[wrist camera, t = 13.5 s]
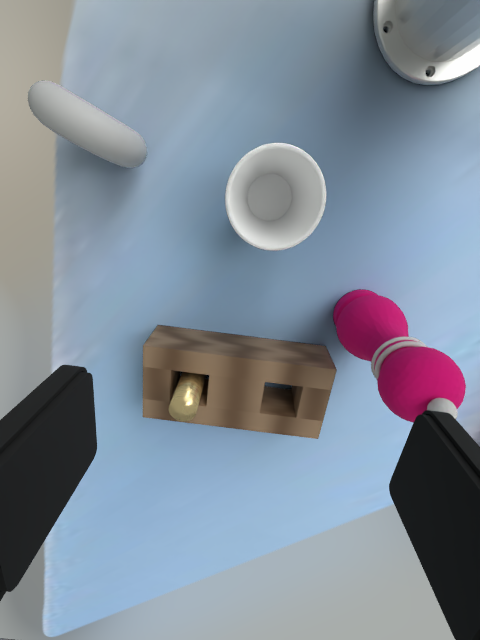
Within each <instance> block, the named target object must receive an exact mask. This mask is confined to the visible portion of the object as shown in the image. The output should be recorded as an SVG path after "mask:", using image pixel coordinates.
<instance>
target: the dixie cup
mask: <svg viewBox="0 0 480 640" xmlns="http://www.w3.org/2000/svg"><path fill="white" fill-rule="evenodd" d="M325 204H326V185H325V181H324V177H323V174H322V172H321V170H320V168H319V166H318V165H317V163H316V162H315V161H314V159H313V158H312V157H311V156H310V155H309V154H307V153H306V152H305V151H303V150H302V149H300V148H298V147H296V146H293V145H290V144H285V143H270V144H265V145H262V146H259V147H257V148H255V149H253V150H252V151H250V152H249V153H247V154H246V155H245V156H244V157H243V158H242V159H241V160H240V161H239V162H238V163H237V164H236V166H235V167H234V169H233V171H232V173H231V175H230V177H229V179H228V183H227V187H226V193H225V206H226V211H227V215H228V218H229V221H230V223H231V225H232V227H233V228H234V230H235V231H236V233H237V234H238V235H239V236H240V237H241V238H242V239H243V240H245V241H246V242H247V243H249V244H250V245H252V246H254V247H257V248H259V249H263V250H270V251H278V250H284V249H288V248H291V247H293V246H295V245H297V244H299V243H301V242H302V241H304V240H305V239H306V238H307V237H308V236H309V235H310V234H311V233H312V232H313V231H314V230H315V228H316V227H317V225H318V224H319V222H320V220H321V218H322V215H323V212H324V209H325Z"/></svg>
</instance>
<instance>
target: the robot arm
mask: <svg viewBox="0 0 480 640" xmlns="http://www.w3.org/2000/svg"><path fill="white" fill-rule="evenodd" d="M373 19H374V30H375V35H376V39H377V43H378V46H379V49H380V51H381V53H382V55H383V57H384V59H385V61H386V62H387V63H388V64H389V66H390V67H391V68H392V69H393V70H394V71H395V72H396V73H397V74H399V75H400V76H401V77H402V78H404V79H407V80H409V81H411V82H413V83H417V84H423V85H439V84H443V83H447V82H451V81H454V80H456V79H458V78H460V77H462V76H464V75H466V74H468V73H469V72H471V71H473V70H474V69H476V68H478V67H479V66H480V0H374V13H373ZM384 28H385V29H386V30H387V33H385V32H384V31H383V29H384ZM426 72H427V73H428V76H426V74H425V73H426ZM96 450H97V438H96V423H95V407H94V392H93V378H92V374H91V373H87V370H86V368H84V367H79V366H71V365H62V366H60V367H59V368H58V369H57V370H56V371H55V372H53V373H52V374H51V375H50V376H49V377H48V378H47V379H46V380H45V381H43V382H42V383H41V384H40V385H39V386H38V387H37V388H36V389H35V390H33V391H32V392H31V393H30V394H29V395H28V396H27V397H26V398H25V399H24V400H22V401H21V402H20V403H19V404H18V405H17V406H16V407H14V408H13V409H12V410H11V411H10V412H9V413H8V414H7V415H6V416H4V417H3V418H2V419H1V420H0V601H1V599H2V598H3V595H4V594H5V593H6V591H8V592H11V591H12V590H13V589H14V588H15V587H16V586H17V585H18V583H19V582H20V580H21V578H22V577H23V575H24V574H25V572H26V570H27V569H28V567H29V565H30V564H31V562H32V560H33V559H34V557H35V555H36V554H37V552H38V550H39V549H40V547H41V545H42V544H43V542H44V540H45V539H46V537H47V535H48V534H49V532H50V530H51V529H52V527H53V526H54V524H55V522H56V521H57V519H58V517H59V516H60V514H61V512H62V511H63V509H64V507H65V506H66V504H67V502H68V501H69V499H70V497H71V496H72V494H73V492H74V491H75V489H76V487H77V486H78V484H79V482H80V481H81V479H82V477H83V476H84V474H85V472H86V471H87V469H88V467H89V466H90V464H91V463H92V461H93V459H94V457H95V454H96ZM389 491H390V495H391V498H392V500H393V502H394V504H395V506H396V508H397V511H398V513H399V516H400V518H401V520H402V522H403V524H404V527H405V529H406V531H407V533H408V536H409V538H410V540H411V542H412V545H413V547H414V549H415V551H416V553H417V556H418V558H419V560H420V562H421V565H422V567H423V569H424V571H425V573H426V576H427V578H428V580H429V582H430V585H431V587H432V589H433V591H434V593H435V596H436V598H437V600H438V603H439V605H440V607H441V609H442V611H443V614H444V616H445V618H446V620H447V623H448V625H449V627H450V629H451V632H452V634H453V636H454V638H455V639H456V640H480V447H479V445H478V444H477V443H476V442H475V441H474V440H473V439H472V438H471V436H470V435H469V434H468V433H467V432H466V431H465V430H464V428H463V427H462V426H461V425H460V424H459V423H458V422H457V421H456V419H455V418H454V417H453V416H452V415H451V414H450V413H447V412H439V411H431V410H426V411H424V412H423V413H422V414H420V415H418V416H417V417H416V419H415V421H414V424H413V426H412V429H411V431H410V433H409V436H408V438H407V441H406V443H405V446H404V448H403V451H402V453H401V456H400V458H399V461H398V463H397V466H396V468H395V471H394V473H393V476H392V478H391V481H390V484H389ZM0 640H13V639H3V638H0Z"/></svg>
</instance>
